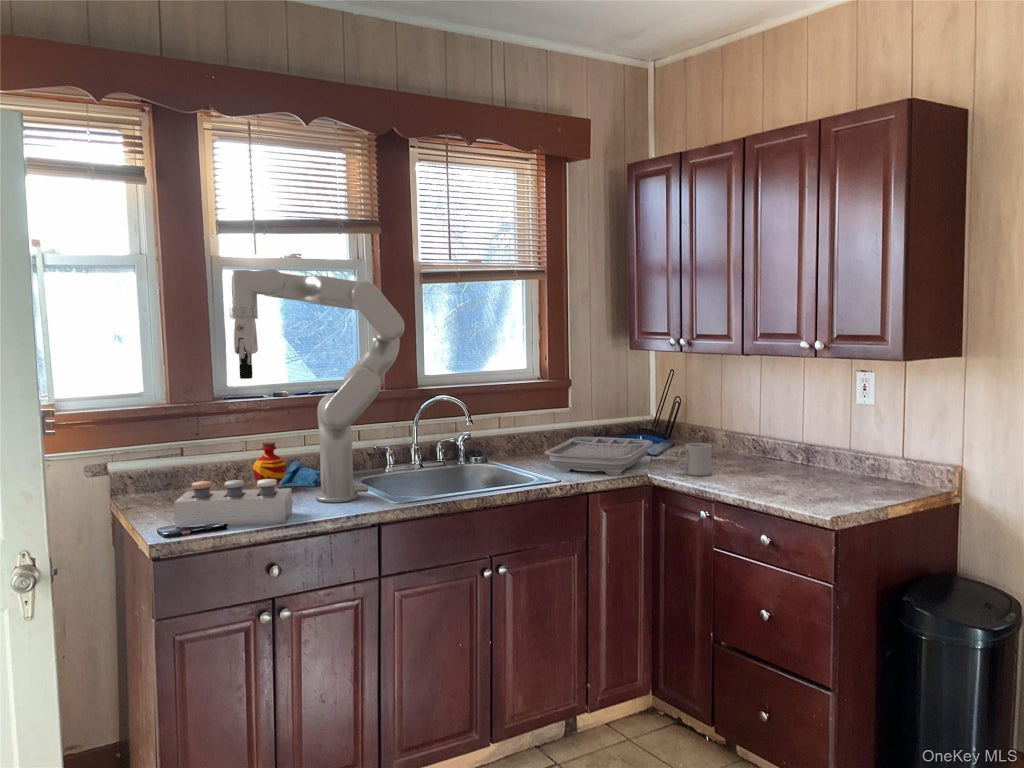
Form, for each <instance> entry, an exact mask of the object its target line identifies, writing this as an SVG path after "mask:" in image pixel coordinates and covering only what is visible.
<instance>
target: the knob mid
mask: <svg viewBox="0 0 1024 768" xmlns="http://www.w3.org/2000/svg"><path fill="white" fill-rule="evenodd" d="M244 486H245V480H243V479H237V480H236V479H232V480H228V481H225V482H224V487H225V488H226V490H227V497H243V490H244V489H243V487H244Z"/></svg>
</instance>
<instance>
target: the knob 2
mask: <svg viewBox="0 0 1024 768" xmlns="http://www.w3.org/2000/svg"><path fill="white" fill-rule="evenodd" d="M256 481H257V480H256ZM276 484H277V480H275V479H263V480H259V481H257V482H256V486H259V490H260V496H273V495H275V485H276Z"/></svg>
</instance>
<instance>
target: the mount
mask: <svg viewBox="0 0 1024 768" xmlns="http://www.w3.org/2000/svg"><path fill="white" fill-rule="evenodd" d="M292 493H293V491H292V487H291V488H289V487H287V488H285V487H284V488H279V489H275V495H273V496H260V490H259V489H253V488H252V489H243V497H227V489H225V490H210V498H194V490H193V491H186V492H185V493H183V494H182V495H181V496H180V497H179V498H177V499H176V500H175V501H174V521H175V522H174V526H175V528H176V527H177V526H185V525H195V524H209V523H210V524H211V523H225V524H228V526H227V527H241V526H266V525H267V526H268V525H286V524H287V523H288V522H289V519H290V518H291V516H292V514H293V494H292Z"/></svg>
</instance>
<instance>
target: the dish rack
mask: <svg viewBox="0 0 1024 768" xmlns="http://www.w3.org/2000/svg"><path fill="white" fill-rule="evenodd" d="M653 444H654V442H653V441H652V440H649V439H642V438H641V439H640V438H627V437H626V438H623V437H621V438H620V437H608V436H607V437H605V436H577V437H573V438H572V437H571V438H569V439H568V440H566V441H564V442H562V443H560V444H558V445H556V446H554V447H552V448H549V449H547V450H545V451H544V454H545V455H548V456H549V465H550V466H552V467H554V468H555V469H558V471H559V472H563V473H565V472H567V473H570V471H571V470H573V471H583V472H597V471H598V472H605V474H606V475H607V476H614V477H615V476H620V475H621V474H622V472H623V471H625V470H626V469H629V468H630V467H631V466H633V465H635V464H636V465H637V464H638V463H639V462H640V460H642V459H644V458H645V457H646V456H647V455H648V454H649V453H648V450H649V448H648V447H650V446H652V445H653Z"/></svg>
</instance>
